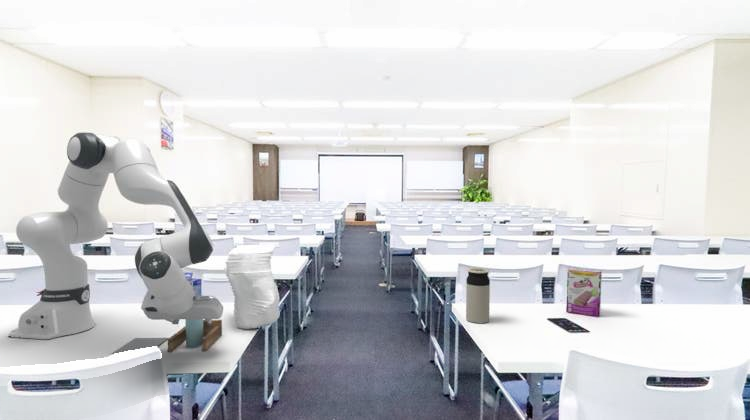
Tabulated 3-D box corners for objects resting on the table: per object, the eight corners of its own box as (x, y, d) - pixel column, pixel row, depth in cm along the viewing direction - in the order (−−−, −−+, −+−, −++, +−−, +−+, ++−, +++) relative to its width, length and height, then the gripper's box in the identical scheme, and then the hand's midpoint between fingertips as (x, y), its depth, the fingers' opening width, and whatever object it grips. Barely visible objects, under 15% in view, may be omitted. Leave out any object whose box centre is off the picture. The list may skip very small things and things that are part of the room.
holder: (167, 351, 114) (167, 334, 114) (187, 335, 127) (187, 319, 127) (206, 351, 115) (206, 333, 114) (221, 335, 128) (221, 319, 127)
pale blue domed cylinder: (183, 347, 117) (182, 313, 117) (193, 338, 124) (192, 306, 124) (199, 347, 117) (199, 313, 117) (208, 338, 125) (208, 306, 124)
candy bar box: (566, 312, 152) (566, 269, 151) (567, 309, 156) (568, 267, 155) (599, 317, 146) (600, 272, 145) (600, 314, 150) (601, 270, 149)
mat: (106, 357, 110) (106, 356, 110) (135, 339, 124) (135, 338, 124) (144, 357, 110) (144, 355, 110) (168, 338, 124) (168, 337, 124)
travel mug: (480, 325, 137) (481, 273, 137) (461, 319, 143) (462, 269, 143) (493, 320, 143) (494, 270, 142) (474, 315, 149) (475, 267, 148)
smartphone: (569, 332, 130) (545, 318, 145) (569, 334, 130) (545, 319, 145) (591, 331, 130) (565, 317, 145) (591, 333, 130) (565, 319, 145)
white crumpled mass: (286, 310, 154) (285, 244, 153) (275, 335, 128) (274, 254, 127) (229, 312, 153) (228, 244, 152) (206, 337, 126) (205, 255, 125)
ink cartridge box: (202, 309, 156) (202, 272, 155) (193, 313, 150) (193, 275, 150) (180, 308, 158) (179, 271, 157) (170, 312, 152) (169, 274, 152)
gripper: (219, 287, 111) (230, 311, 121) (143, 287, 110) (161, 312, 120) (213, 307, 106) (226, 331, 117) (134, 308, 106) (154, 332, 116)
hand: (192, 321), depth 118 cm, fingers open, 8 cm apart
